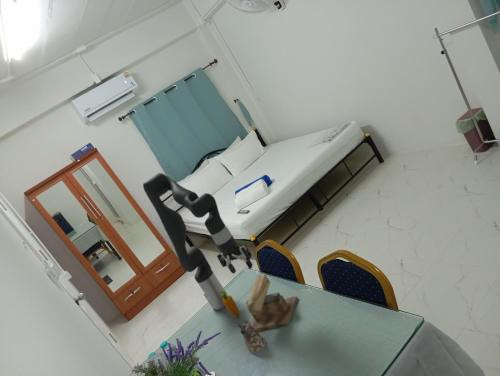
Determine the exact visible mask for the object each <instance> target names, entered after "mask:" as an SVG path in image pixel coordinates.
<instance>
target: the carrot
mask: <svg viewBox="0 0 500 376" xmlns="http://www.w3.org/2000/svg"><path fill="white" fill-rule="evenodd" d="M225 291H226V290H225ZM225 291H224V292H223V291H222V290H221V291H220V292H221V293H222V296H219V298H220V297H222V298H224V299H223V300H222V301H223V304H224V305H225V307H224V308H226V310H227V311H228V312H229V313H230V314H231V315H232V316H233V317H236V318H239V316H240V313H239V309H238V307H237V306H238V305H237V304H236V301H235V300H234V299H233V297H232V295H228V296H226V293H227V291H226V292H225Z"/></svg>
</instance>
